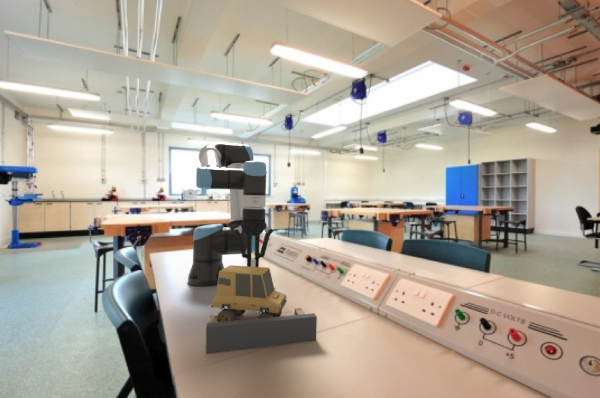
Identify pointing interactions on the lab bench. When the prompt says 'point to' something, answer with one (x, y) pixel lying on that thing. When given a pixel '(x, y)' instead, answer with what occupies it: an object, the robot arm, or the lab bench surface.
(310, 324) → the wall
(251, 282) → the toy car
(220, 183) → the robot arm
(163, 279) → the lab bench surface
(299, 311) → the bay kerbs
